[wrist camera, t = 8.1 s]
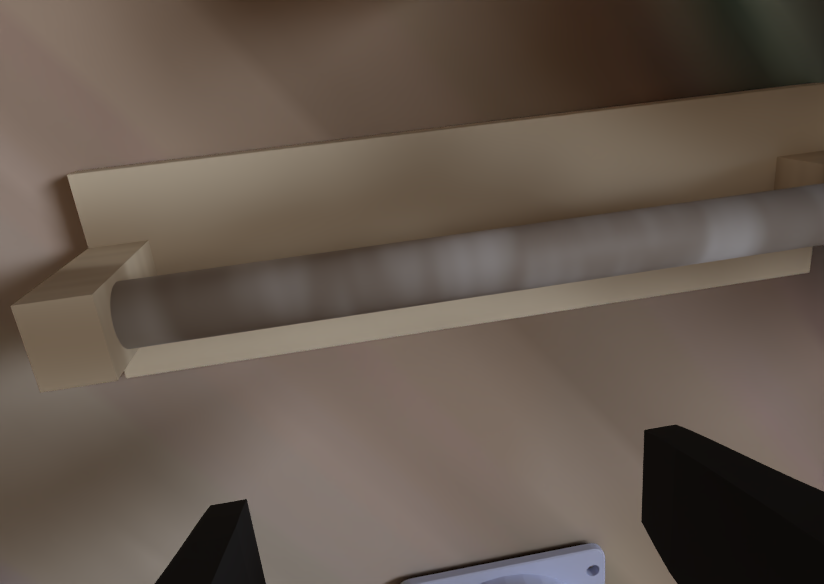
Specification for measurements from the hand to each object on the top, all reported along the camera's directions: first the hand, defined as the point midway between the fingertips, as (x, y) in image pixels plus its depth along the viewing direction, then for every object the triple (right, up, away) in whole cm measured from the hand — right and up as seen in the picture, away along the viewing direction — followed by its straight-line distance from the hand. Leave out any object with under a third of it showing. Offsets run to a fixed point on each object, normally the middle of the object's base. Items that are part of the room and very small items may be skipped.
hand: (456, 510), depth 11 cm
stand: (+1, +6, +8) cm, 10 cm away
